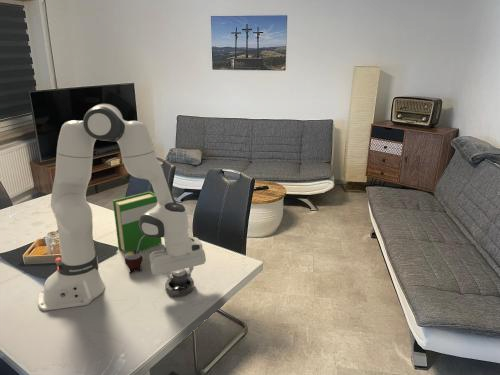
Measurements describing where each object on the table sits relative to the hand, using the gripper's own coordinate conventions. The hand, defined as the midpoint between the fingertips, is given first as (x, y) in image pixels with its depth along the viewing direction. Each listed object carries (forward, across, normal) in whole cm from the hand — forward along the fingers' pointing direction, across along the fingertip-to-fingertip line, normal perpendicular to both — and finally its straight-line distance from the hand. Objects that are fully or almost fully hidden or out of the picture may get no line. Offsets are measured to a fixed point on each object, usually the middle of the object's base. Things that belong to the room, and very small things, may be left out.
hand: (179, 278), depth 143 cm
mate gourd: (+4, -13, +21) cm, 25 cm away
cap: (+2, 0, 0) cm, 2 cm away
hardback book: (+4, -8, +40) cm, 41 cm away
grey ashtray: (+4, 0, 0) cm, 4 cm away
